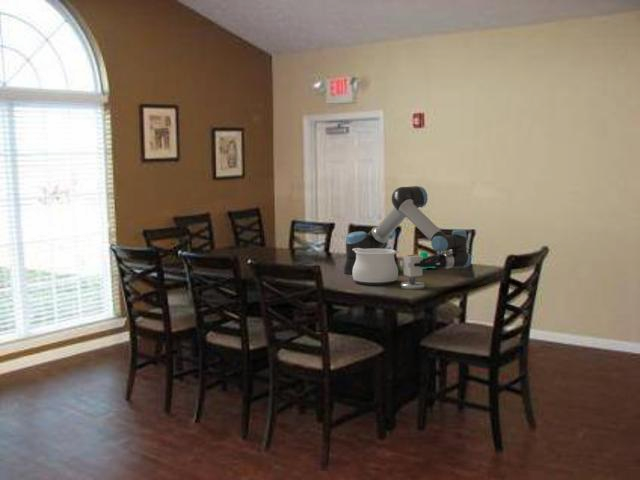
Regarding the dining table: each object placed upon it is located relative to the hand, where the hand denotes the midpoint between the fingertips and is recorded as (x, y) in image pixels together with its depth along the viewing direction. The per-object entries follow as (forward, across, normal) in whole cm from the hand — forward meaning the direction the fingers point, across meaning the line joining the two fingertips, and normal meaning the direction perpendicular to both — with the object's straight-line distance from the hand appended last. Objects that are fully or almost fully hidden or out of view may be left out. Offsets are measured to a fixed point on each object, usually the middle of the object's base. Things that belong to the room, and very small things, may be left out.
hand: (404, 264), depth 365 cm
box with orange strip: (-5, 0, -6) cm, 8 cm away
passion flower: (-69, +73, -12) cm, 101 cm away
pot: (+5, +23, -12) cm, 27 cm away
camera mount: (-45, +54, -12) cm, 72 cm away
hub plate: (-5, 0, -12) cm, 13 cm away
